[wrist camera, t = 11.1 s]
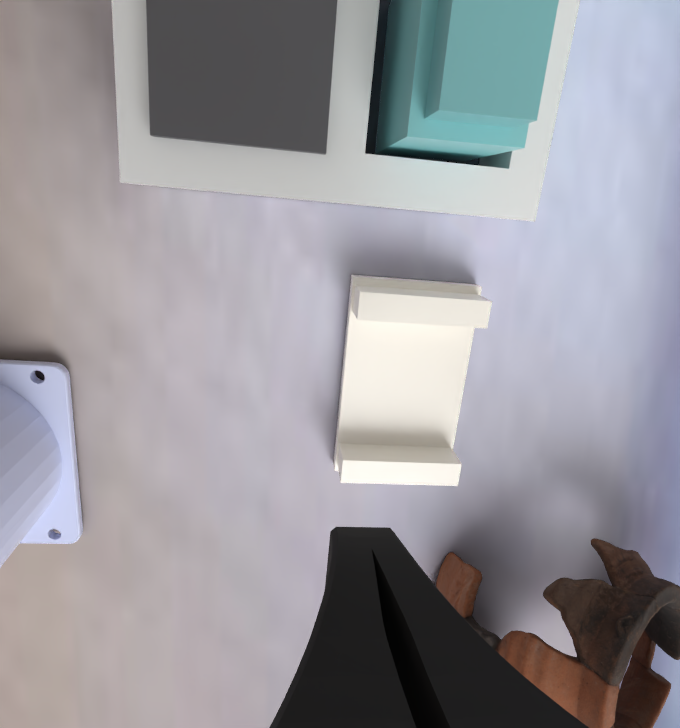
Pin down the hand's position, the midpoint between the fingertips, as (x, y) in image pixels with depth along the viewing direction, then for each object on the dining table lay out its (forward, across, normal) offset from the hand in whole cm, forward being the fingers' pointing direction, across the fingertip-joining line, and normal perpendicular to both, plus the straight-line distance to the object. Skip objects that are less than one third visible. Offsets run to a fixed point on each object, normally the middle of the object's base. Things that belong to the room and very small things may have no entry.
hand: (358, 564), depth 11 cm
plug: (+10, -2, -12) cm, 16 cm away
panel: (+10, 0, -12) cm, 16 cm away
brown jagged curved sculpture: (+10, -11, +11) cm, 18 cm away
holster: (+10, -3, -1) cm, 10 cm away
